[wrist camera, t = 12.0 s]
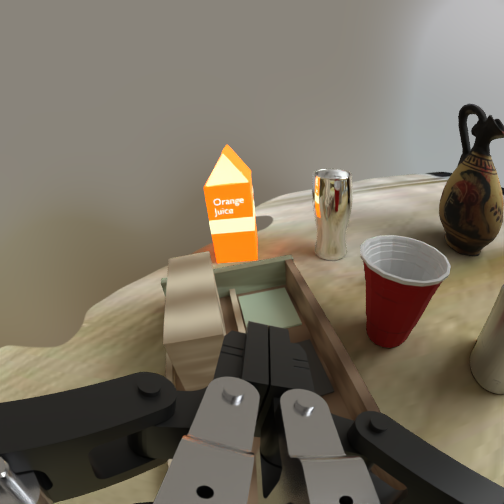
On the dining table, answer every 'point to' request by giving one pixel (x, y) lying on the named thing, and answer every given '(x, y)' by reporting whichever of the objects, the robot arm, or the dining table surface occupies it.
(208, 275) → the beech block
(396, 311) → the plastic cup
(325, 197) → the beer glass
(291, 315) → the pad
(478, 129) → the ceramic jug
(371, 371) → the dining table surface
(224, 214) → the orange juice
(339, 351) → the board
